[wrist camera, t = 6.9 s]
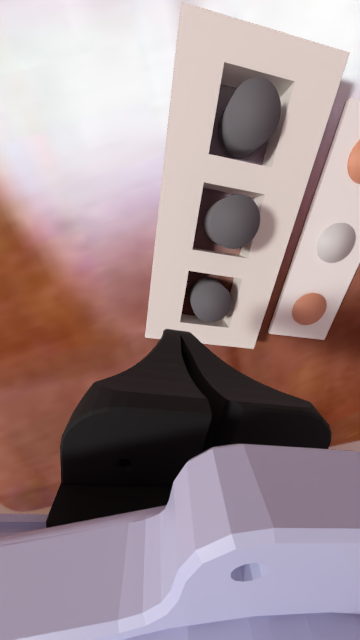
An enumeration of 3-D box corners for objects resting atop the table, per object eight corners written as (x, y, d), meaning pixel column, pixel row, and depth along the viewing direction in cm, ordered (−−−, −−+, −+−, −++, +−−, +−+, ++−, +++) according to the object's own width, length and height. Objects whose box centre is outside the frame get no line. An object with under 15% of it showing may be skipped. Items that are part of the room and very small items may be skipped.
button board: (246, 338, 22) (253, 348, 20) (146, 327, 21) (144, 337, 19) (326, 74, 15) (349, 52, 13) (178, 32, 13) (181, 1, 12)
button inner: (219, 313, 21) (226, 324, 18) (185, 309, 20) (189, 319, 18) (227, 279, 20) (236, 287, 17) (192, 274, 19) (196, 281, 17)
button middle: (240, 248, 17) (252, 252, 15) (200, 242, 17) (206, 244, 15) (251, 202, 16) (266, 199, 14) (209, 194, 16) (217, 189, 13)
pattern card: (321, 338, 23) (325, 340, 22) (267, 331, 22) (270, 334, 22) (419, 120, 16) (428, 117, 16) (346, 100, 15) (353, 96, 15)
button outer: (255, 162, 16) (271, 151, 14) (213, 153, 16) (222, 140, 13) (269, 106, 15) (288, 84, 13) (223, 95, 15) (235, 70, 12)
